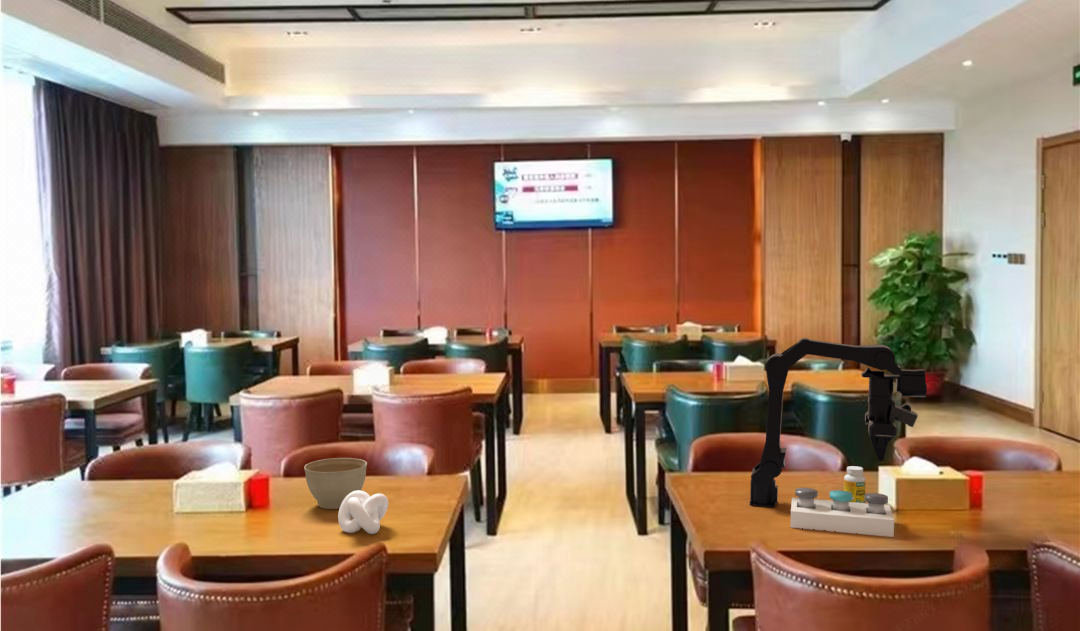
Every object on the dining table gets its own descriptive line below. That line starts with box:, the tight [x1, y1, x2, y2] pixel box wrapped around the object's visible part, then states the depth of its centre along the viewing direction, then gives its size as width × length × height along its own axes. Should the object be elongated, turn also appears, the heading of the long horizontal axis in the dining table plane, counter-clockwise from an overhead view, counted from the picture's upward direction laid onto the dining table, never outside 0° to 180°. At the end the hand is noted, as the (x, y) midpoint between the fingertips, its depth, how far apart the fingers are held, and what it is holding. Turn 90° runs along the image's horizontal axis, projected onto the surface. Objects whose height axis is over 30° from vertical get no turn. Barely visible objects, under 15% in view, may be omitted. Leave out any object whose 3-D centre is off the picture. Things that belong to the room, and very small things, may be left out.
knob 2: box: [865, 492, 889, 515], centre depth 200 cm, size 5×5×5 cm
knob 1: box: [795, 487, 819, 509], centre depth 205 cm, size 5×5×5 cm
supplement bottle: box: [843, 465, 867, 503], centre depth 220 cm, size 5×5×10 cm
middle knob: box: [829, 489, 852, 511], centre depth 203 cm, size 5×5×5 cm
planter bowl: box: [303, 457, 368, 510], centre depth 222 cm, size 16×16×11 cm
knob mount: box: [790, 496, 895, 538], centre depth 203 cm, size 23×12×4 cm, turn 72°
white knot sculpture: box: [337, 490, 389, 535], centre depth 200 cm, size 11×12×9 cm
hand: (879, 456), depth 211 cm, fingers open, 9 cm apart
